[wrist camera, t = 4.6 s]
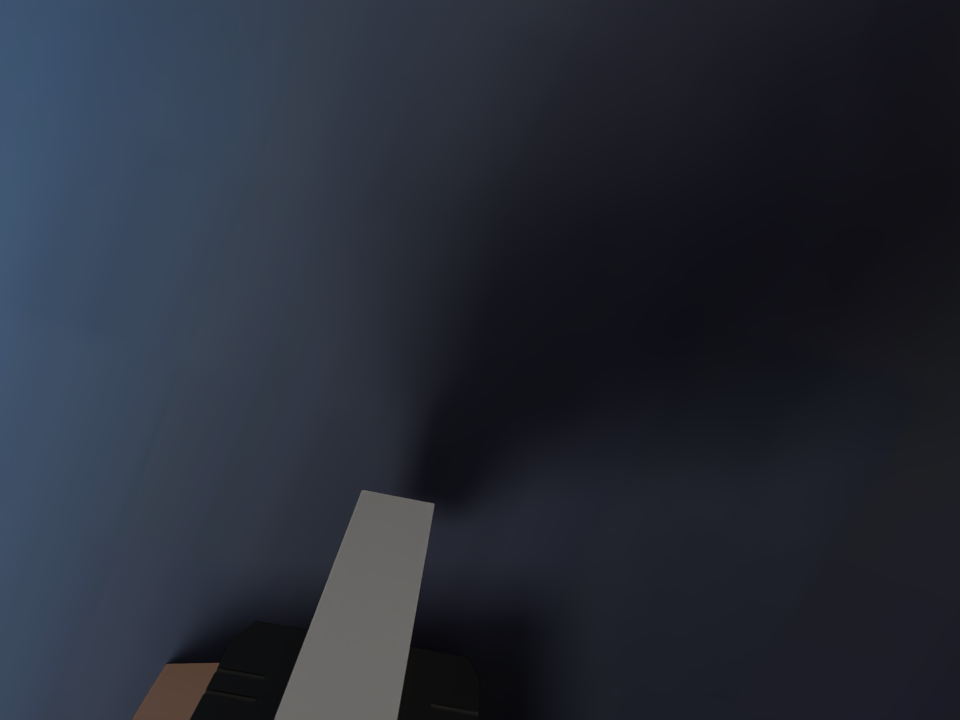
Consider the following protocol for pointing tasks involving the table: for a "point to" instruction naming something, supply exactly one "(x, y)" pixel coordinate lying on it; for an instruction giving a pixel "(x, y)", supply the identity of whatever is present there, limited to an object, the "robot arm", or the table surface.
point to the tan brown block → (176, 692)
